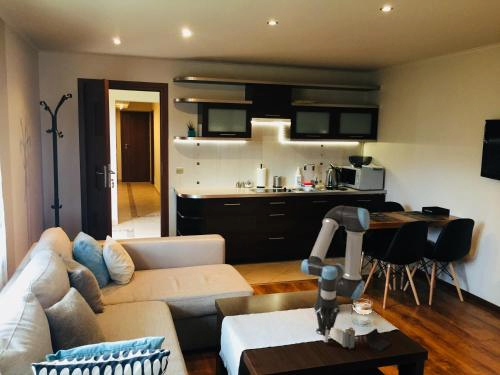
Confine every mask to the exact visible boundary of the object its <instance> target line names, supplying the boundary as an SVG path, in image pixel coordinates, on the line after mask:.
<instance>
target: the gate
mask: <svg viewBox="0 0 500 375" xmlns="http://www.w3.org/2000/svg"><path fill="white" fill-rule="evenodd" d="M326 328H327V327H326ZM349 336H350V334H349V333H347V332H345V330H343V329H341V328H340V327H338V326H336V324H334V327H333V328H331V330H330V334H329V335H328V337H330V338H331V339H332V340H334V341H336V342H337V343H339V344H340V345H341V346H342V347H343V348H348V347H347V346H349Z"/></svg>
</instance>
